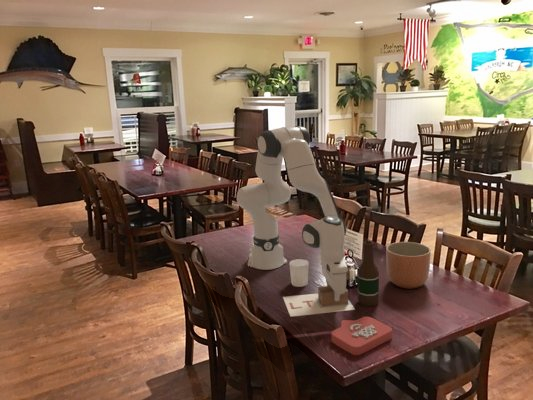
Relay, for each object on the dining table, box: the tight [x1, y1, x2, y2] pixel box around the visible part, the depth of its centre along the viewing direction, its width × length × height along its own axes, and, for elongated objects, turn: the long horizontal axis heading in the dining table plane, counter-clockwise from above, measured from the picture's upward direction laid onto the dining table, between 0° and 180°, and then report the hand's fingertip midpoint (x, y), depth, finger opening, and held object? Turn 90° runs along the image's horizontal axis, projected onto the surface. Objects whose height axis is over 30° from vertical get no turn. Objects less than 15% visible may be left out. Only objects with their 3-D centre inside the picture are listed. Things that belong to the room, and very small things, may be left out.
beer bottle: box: [357, 240, 380, 307], centre depth 168 cm, size 8×8×24 cm
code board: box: [282, 293, 356, 317], centre depth 171 cm, size 16×24×1 cm, turn 98°
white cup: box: [289, 258, 310, 288], centre depth 188 cm, size 8×8×10 cm
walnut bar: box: [317, 285, 349, 306], centre depth 171 cm, size 6×10×5 cm, turn 98°
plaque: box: [330, 316, 393, 356], centre depth 148 cm, size 18×4×15 cm
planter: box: [385, 241, 432, 290], centre depth 184 cm, size 17×17×15 cm
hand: (333, 294), depth 171 cm, fingers open, 8 cm apart
